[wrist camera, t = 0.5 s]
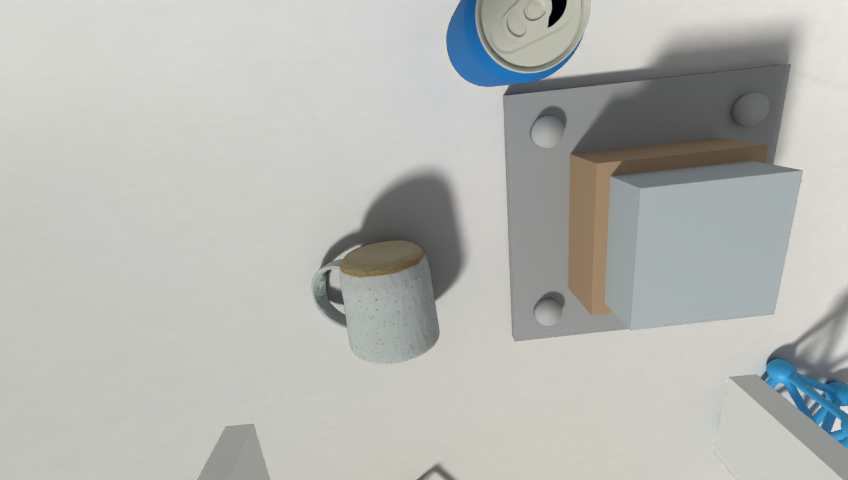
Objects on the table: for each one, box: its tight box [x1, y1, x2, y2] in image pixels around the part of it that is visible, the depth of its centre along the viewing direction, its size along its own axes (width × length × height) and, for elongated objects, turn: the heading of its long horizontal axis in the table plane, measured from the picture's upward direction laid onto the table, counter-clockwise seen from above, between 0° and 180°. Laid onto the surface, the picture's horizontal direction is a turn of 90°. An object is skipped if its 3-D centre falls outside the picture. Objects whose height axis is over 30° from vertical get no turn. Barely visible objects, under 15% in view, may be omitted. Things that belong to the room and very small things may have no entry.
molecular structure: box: [766, 359, 848, 449], centre depth 39 cm, size 10×10×10 cm
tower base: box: [503, 64, 803, 341], centre depth 32 cm, size 22×22×10 cm
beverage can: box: [446, 0, 590, 87], centre depth 26 cm, size 6×6×12 cm
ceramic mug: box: [312, 240, 439, 364], centre depth 34 cm, size 11×8×8 cm
